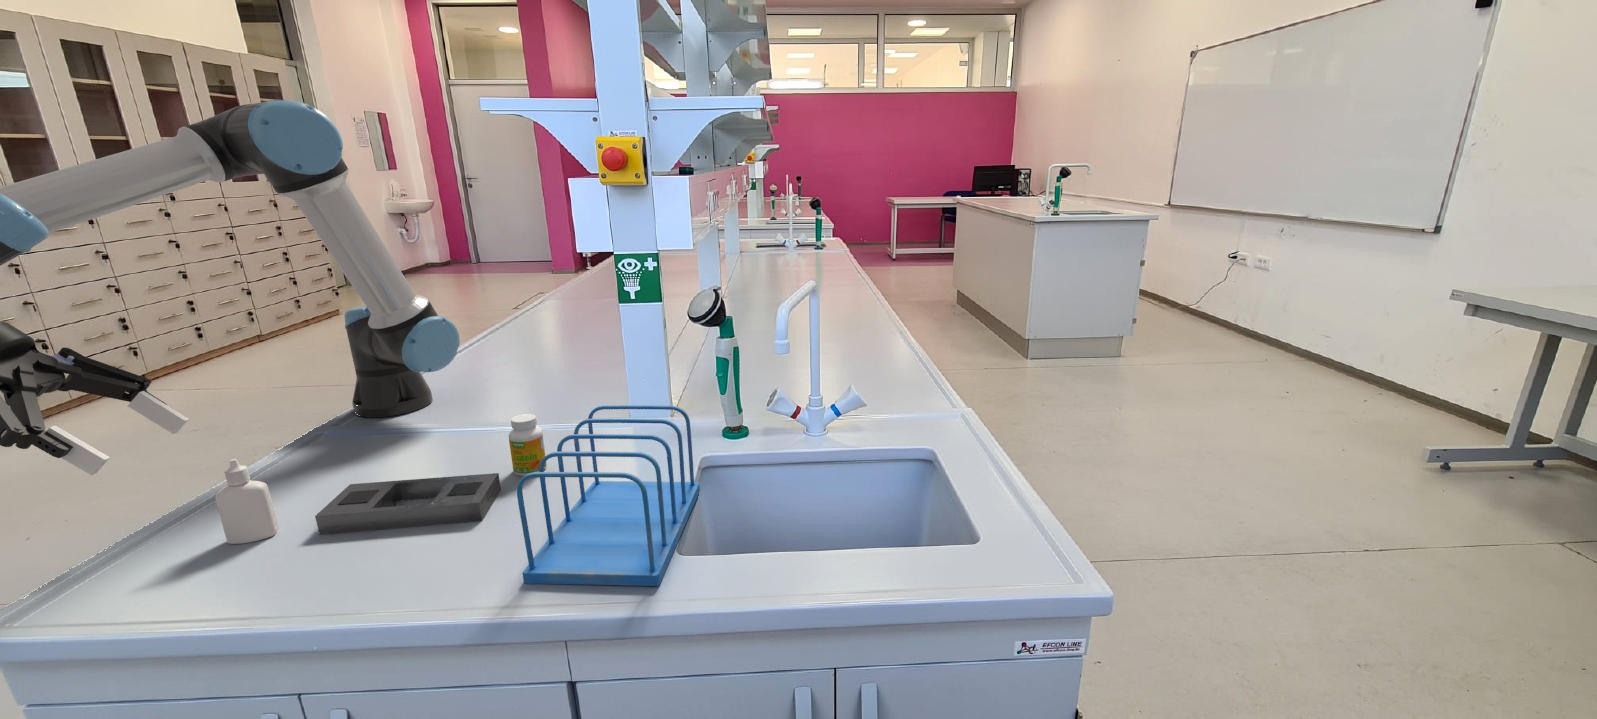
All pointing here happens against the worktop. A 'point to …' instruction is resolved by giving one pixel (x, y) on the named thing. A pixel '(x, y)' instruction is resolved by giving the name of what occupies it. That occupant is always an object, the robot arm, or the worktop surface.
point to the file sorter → (612, 515)
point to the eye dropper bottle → (245, 507)
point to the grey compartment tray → (378, 499)
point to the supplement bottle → (526, 444)
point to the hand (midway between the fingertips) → (144, 445)
